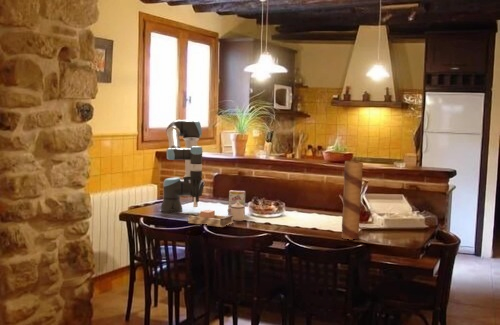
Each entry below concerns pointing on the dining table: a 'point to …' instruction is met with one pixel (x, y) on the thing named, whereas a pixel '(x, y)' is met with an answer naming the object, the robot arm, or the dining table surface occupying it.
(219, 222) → the chute
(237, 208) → the teacup with lid
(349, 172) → the wafer roll
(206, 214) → the block
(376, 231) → the dining table surface
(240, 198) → the candy bar box
